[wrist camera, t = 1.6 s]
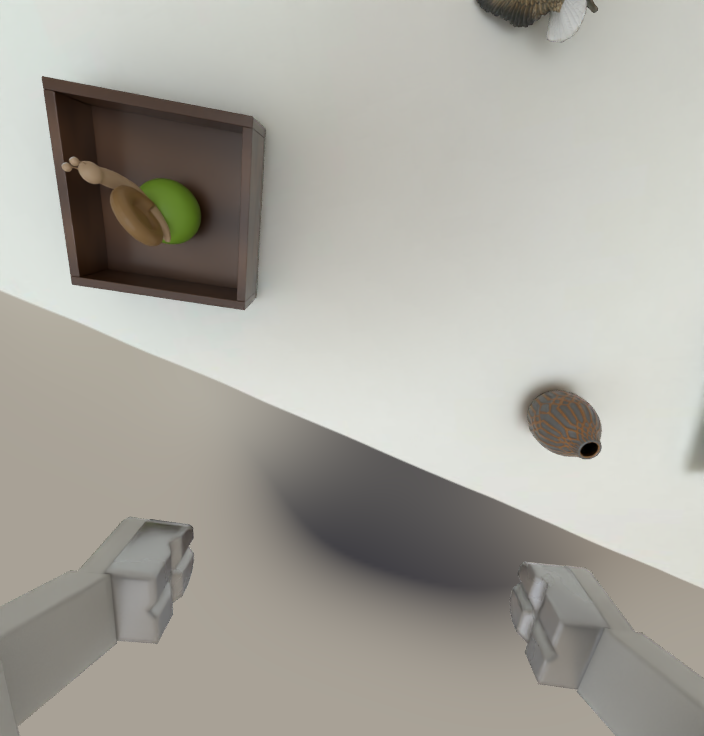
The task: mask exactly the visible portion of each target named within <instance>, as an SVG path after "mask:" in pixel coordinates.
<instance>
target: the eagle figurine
mask: <svg viewBox="0 0 704 736" xmlns="http://www.w3.org/2000/svg"><path fill="white" fill-rule="evenodd" d="M477 2H478V3H480V7H481V8H483V9H485V11H486V12H491V13H492V14H494V15H495V16H499V15H500V17H501V18H504V19H505V20H509V21H510V24H513V26H514V27H516V26H517V27H522V26H523V27H528V26H529V25H532V24H533V23H534V21H535V20H538V19H540V17H541V15H546V14H547V13H548V12H550V18H549V25H548V30H547V39H548V40H549V41H551V42H564V41H565V40H567V39H569V38H571V37H572V36H573V35H574V34H575V33H576V32H577V31H578V29H579V27H580V25H581V23H582V21H583V19H584V16H585V13H586V7H588V8H589V9H590V10H591V11H592V12H593V13H595V12H597V11H598V8H597V6H596V5H595V4H594V2H593V0H477Z"/></svg>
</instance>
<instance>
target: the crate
mask: <svg viewBox="0 0 704 736" xmlns="http://www.w3.org/2000/svg"><path fill="white" fill-rule="evenodd" d="M42 83H43V88H44V97H45V103H46V110H47V117H48V124H49V131H50V138H51V144H52V151H53V158H54V165H55V172H56V178H57V185H58V192H59V199H60V206H61V213H62V219H63V226H64V233H65V240H66V247H67V253H68V260H69V267H70V274H71V281H72V284H73V285H79V286H85V287H92V288H99V289H106V290H112V291H119V292H126V293H133V294H139V295H146V296H153V297H160V298H166V299H173V300H180V301H187V302H193V303H200V304H207V305H214V306H220V307H227V308H234V309H241V310H245V309H246V308H247V307H248V306H249V305H250V304H251V303H252V302H253V301H254V300H255V298H256V296H257V278H258V260H259V242H260V224H261V206H262V188H263V170H264V152H265V134H266V129H265V128H264V127H263V126H262V125H261V124H260V123H259V122H258V121H257V120H256V119H255V118H254V117H253V116H248V115H243V114H237V113H232V112H227V111H222V110H217V109H211V108H206V107H201V106H196V105H190V104H185V103H180V102H175V101H169V100H164V99H159V98H154V97H148V96H143V95H138V94H133V93H128V92H122V91H117V90H112V89H107V88H101V87H96V86H91V85H86V84H80V83H75V82H70V81H65V80H60V79H54V78H49V77H44V76H42ZM71 157H76V158H78V159H79V161H90V162H93V163H95V164H96V165H97V166H99V167H102V168H106V169H109V170H111V171H114V172H116V173H118V174H120V175H122V176H124V177H125V178H127V179H128V180H130V181H132V182H133V183H135V184H136V185H137V186H138V187H140V186H141V185H142V184H144V183H145V182H147V181H149V180H152V179H156V178H166V179H171V180H174V181H176V182H178V183H180V184H182V185H183V186H185V187H186V188H187V189H188V190H189V191H190V192H191V193H192V194H193V195H194V197H195V198H196V200H197V202H198V204H199V207H200V211H201V223H200V227H199V229H198V231H197V233H196V234H195V235H194V236H193V237H192V238H191V239H190V240H188V241H186V242H184V243H181V244H165V243H161V244H160V245H158V246H147V245H145V244H143V243H141V242H139V241H138V240H136V239H135V238H134V237H132V236H131V235H130V234H129V233H128V232H127V231H126V230H125V229H124V228H123V226H122V225H121V224H120V222H119V221H118V220H117V218H116V216H115V214H114V212H113V210H112V208H111V204H110V195H111V192H112V191H113V189H112V188H109V187H106V186H104V185H102V184H100V183H99V184H92V183H89V182H87V181H86V180H84V179H83V178H82V177H81V175H80V173H79V170H78V169H75V168H72V170H71V171H70V172H67V171H64V170H63V169H62V166H61V165H62V164H63V163H65V162H67V163H69V164H70V165H71V166H72V167H76V168H78V166H79V165H78V166H73V165H72V164H71V163H70V162H69V159H70V158H71ZM79 164H80V163H79Z"/></svg>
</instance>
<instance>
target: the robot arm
mask: <svg viewBox="0 0 704 736" xmlns="http://www.w3.org/2000/svg"><path fill="white" fill-rule="evenodd" d="M192 540H193V527H192V526H191V525H189V524H182V523H175V522H167V521H160V520H153V519H150V520H148V519H142V518H135V517H128V518H127V519H124V520H123V521H122V522H121V523H120V524H119V525H118V526H117V527H116V529H115V530H114V531H113V532H112V533H111V534H110V536H108V537H107V539H106V540H105V541H104V542H103V543H102V544H101V545H100V547H99V548H98V549H97V550H96V551H95V552H94V553H93V554H92V556H91V557H90V558H89V559H88V560H87V561H86V562H85V563H84V564H83V565H82V567H81V568H80V569H79V570H78V571H73V570H70V571H68V572H66V573H65V574H63V575H61V576H59V577H57V578H55V579H53V580H51V581H49V582H47V583H45V584H43V585H41V586H39V587H37V588H35V589H33V590H31V591H30V592H28V593H26V594H24V595H22V596H20V597H18V598H16V599H14V600H12V601H10V602H8V603H6V604H4V605H2V606H0V736H20V735H19V731H18V726H19V725H20V724H21V723H23V722H24V721H25V720H26V719H27V718H28V717H30V716H31V715H32V714H33V713H34V712H36V711H37V710H38V709H39V708H40V707H42V706H43V705H44V704H45V703H46V702H47V701H49V700H50V699H51V698H52V697H53V696H55V695H56V694H57V693H58V692H59V691H61V690H62V689H63V688H64V687H65V686H67V685H68V684H69V683H70V682H71V681H73V680H74V679H75V678H76V677H77V676H79V675H80V674H81V673H82V672H83V671H85V669H87V668H88V667H89V666H90V665H92V664H93V663H94V662H95V661H96V660H98V659H99V658H100V657H101V656H102V655H104V654H105V653H106V652H107V651H108V650H109V649H111V648H112V647H113V646H114V645H115V644H117V641H129V642H141V643H155V644H157V643H158V642H159V640H160V638H161V636H162V634H163V632H164V630H165V628H166V626H167V624H168V623H169V621H170V619H171V617H172V615H173V602H175V601H176V600H178V599H179V598H180V597H182V596H183V593H184V591H185V589H186V588H187V585H188V583H189V580H190V576H191V573H192V569H193V563H194V553H193V551H192V550H191V549H190V547H189V545H190V543H191V542H192ZM518 576H519V578H520V581H521V582H520V583H519V584H518V585H516V586H515V587H514V588H513V589H512V593H511V596H510V613H511V617H512V622H513V624H514V627H515V629H516V632H517V633H518V634H519V635H520V636H521V637H522V638H523V639H524V640H525V641H526V642H527V647H526V650H525V654H526V655H527V658H528V661H529V663H530V665H531V668H532V670H533V673H534V675H535V677H536V679H537V682H538V684H542V685H549V686H556V687H563V688H570V689H577V692H578V694H579V695H580V696H581V697H582V698H583V699H584V700H585V702H586V703H587V704H588V705H589V706H590V707H591V708H592V709H593V711H594V712H595V713H596V714H597V715H598V716H599V717H600V719H601V720H602V721H603V722H604V723H605V724H606V725H607V726H608V728H609V729H610V730H611V731H612V732H613V733H614V734H615V736H704V678H703V677H701V676H700V675H699V674H697V673H696V672H695V671H693V670H692V669H691V668H689V667H688V666H687V665H685V664H684V663H683V662H681V661H680V660H679V659H677V658H676V657H675V656H673V655H672V654H670V653H669V652H668V651H666V650H665V649H664V648H662V647H661V646H660V645H658V644H657V643H655V642H654V641H653V640H652V639H650V638H649V637H647V636H646V635H645V634H643V633H641V632H635V631H634V629H633V628H632V627H631V625H630V624H629V623H628V621H627V620H626V618H625V617H624V616H623V614H622V613H621V612H620V610H619V609H618V608H617V606H616V605H615V603H614V602H613V601H612V599H611V598H610V597H609V595H608V594H607V592H606V591H605V590H604V588H603V587H602V586H601V585H600V583H599V582H598V580H597V579H596V578H595V576H594V575H593V573H592V572H591V571H589V570H588V569H587V568H583V567H572V566H560V565H549V564H539V563H530V562H524V563H523V564H522V565H521V566H520V568H519V571H518Z"/></svg>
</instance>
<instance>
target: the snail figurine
mask: <svg viewBox="0 0 704 736" xmlns="http://www.w3.org/2000/svg"><path fill="white" fill-rule="evenodd" d="M69 162H70V163H71V164H72V165H73V166H78V165H79V166H78V168H76V167H72V166H71V165H70V164H69V163H67V162H65V163H63V164H62V165H61V166H62V169H63V170H64V171H67V172H70V171H71V170H72V168H75V169H78V170H79V173H80V175H81V177H82V178H83V179H84V180H86V181H87V182H89V183H92V184H99V183H100V184H102V185H104V186H106V187H109V188H112V189H113V191H112V192H111V195H110V204H111V208H112V210H113V212H114V214H115V216H116V218H117V220H118V221H119V222H120V224H121V225H122V226H123V228H124V229H125V230H126V231H127V232H128V233H129V234H130V235H131V236H132V237H134V238H135V239H136V240H138V241H139V242H141V243H143V244H145V245H147V246H158V245H160V244H161V243H165V244H181V243H184V242H186V241H188V240H190V239H191V238H192V237H193V236H194V235H195V234H196V233H197V231H198V229H199V227H200V223H201V211H200V207H199V204H198V202H197V200H196V198H195V197H194V195H193V194H192V193H191V192H190V191H189V190H188V189H187V188H186V187H185V186H183V185H182V184H180V183H178V182H176V181H174V180H171V179H166V178H156V179H152V180H149V181H147V182H145V183H144V184H142V185H141V186H140V187H138V186H137V185H136V184H135V183H133V182H132V181H130V180H128V179H127V178H125V177H124V176H122V175H120V174H118V173H116V172H114V171H111V170H109V169H106V168H102V167H99V166H97V165H96V164H95V163H93V162H90V161H79V159H78V158H76V157H71V158H70V159H69ZM79 163H80V164H79Z"/></svg>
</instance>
